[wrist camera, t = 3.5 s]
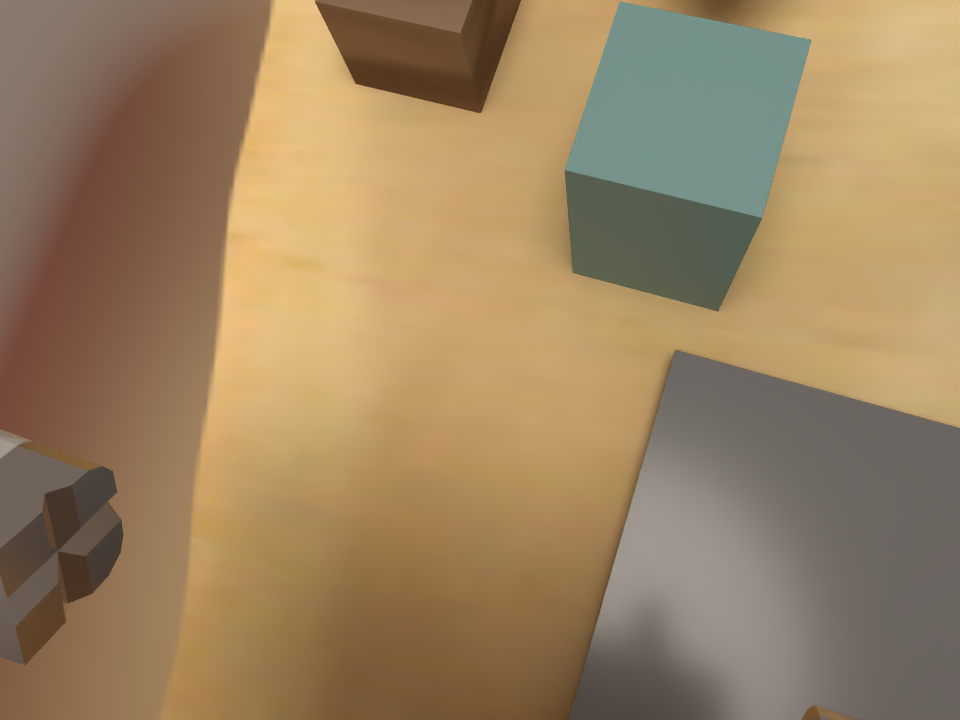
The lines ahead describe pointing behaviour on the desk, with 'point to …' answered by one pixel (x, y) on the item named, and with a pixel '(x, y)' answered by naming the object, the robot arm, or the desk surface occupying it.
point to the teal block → (678, 151)
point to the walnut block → (423, 45)
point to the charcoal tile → (781, 560)
